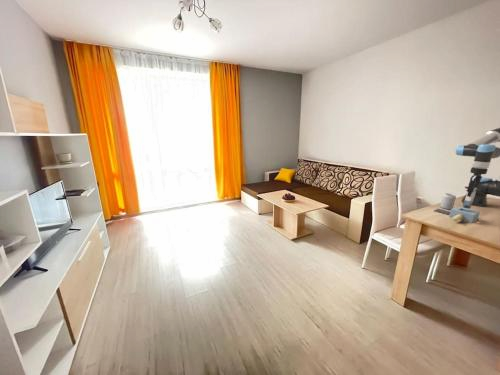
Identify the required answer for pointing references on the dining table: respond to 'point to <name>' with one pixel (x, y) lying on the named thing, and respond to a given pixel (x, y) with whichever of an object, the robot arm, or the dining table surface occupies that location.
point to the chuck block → (464, 214)
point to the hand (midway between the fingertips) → (468, 200)
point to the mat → (442, 211)
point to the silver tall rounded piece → (468, 203)
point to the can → (448, 201)
